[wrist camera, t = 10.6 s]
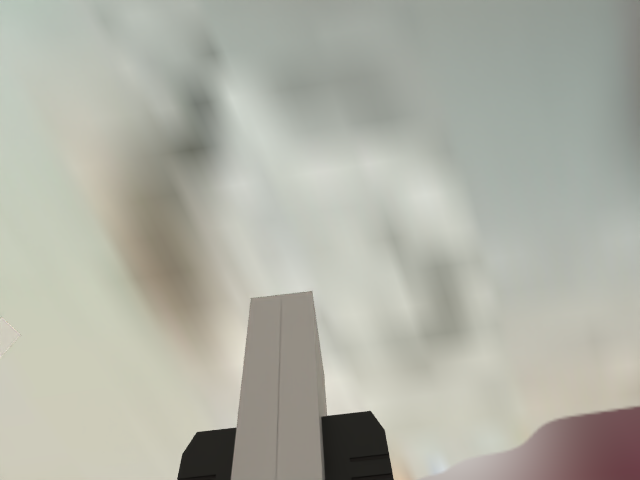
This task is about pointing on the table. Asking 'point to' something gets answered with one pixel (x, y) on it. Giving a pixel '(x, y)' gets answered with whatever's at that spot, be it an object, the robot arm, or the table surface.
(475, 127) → the table surface
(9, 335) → the white bracket plate
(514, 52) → the table surface
